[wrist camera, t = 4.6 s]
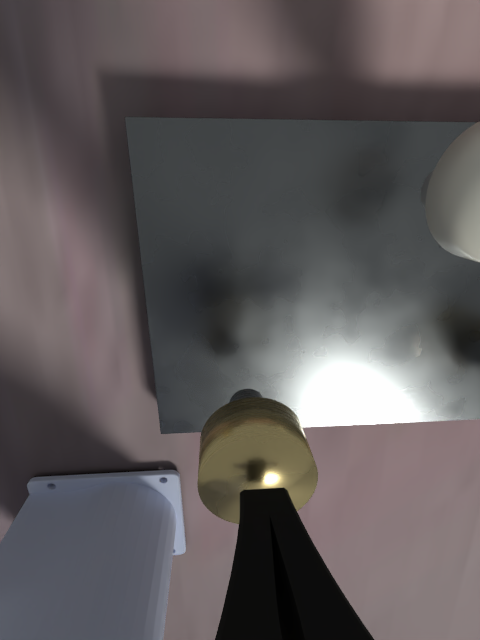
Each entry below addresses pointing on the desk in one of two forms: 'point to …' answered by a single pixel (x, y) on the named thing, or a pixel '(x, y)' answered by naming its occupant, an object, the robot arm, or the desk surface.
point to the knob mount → (302, 270)
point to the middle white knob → (456, 196)
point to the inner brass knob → (253, 454)
